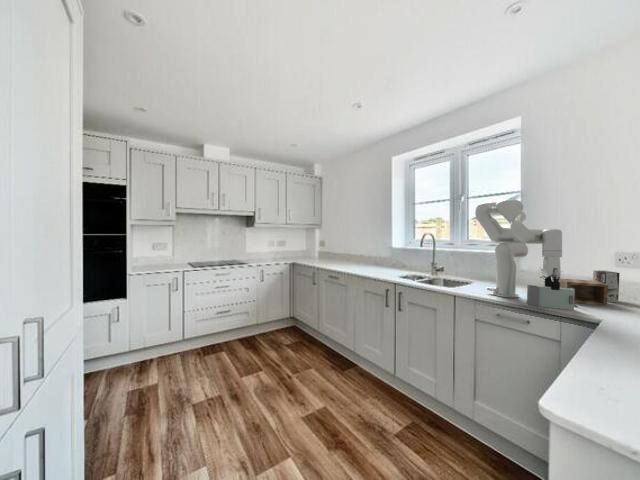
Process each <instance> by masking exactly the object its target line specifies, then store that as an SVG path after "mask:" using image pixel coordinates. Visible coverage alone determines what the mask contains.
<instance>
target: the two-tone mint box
mask: <svg viewBox="0 0 640 480" xmlns="http://www.w3.org/2000/svg"><path fill="white" fill-rule="evenodd" d="M526 293H527V294H526V305H527V304H528V305H527V306H528V307H536V308H539V306H542V307H541V308H548V307H551V308H550V309H558V308H560V309H561V310H567V309H573V310H572V311H574V310H575V307H574V304H575V303H574V296H575V290H574V289H567V288H560V290H551V287H544V286H543V285H531V284H527V290H526Z"/></svg>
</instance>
